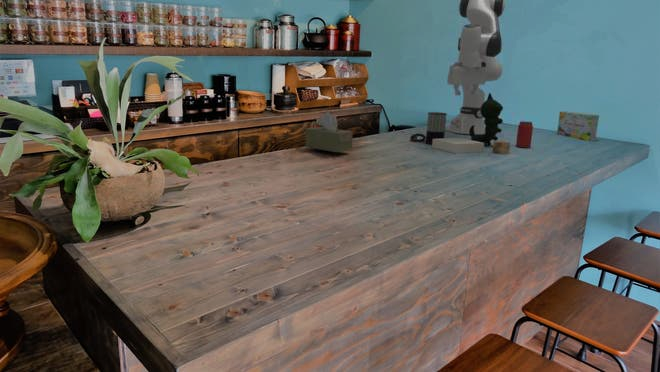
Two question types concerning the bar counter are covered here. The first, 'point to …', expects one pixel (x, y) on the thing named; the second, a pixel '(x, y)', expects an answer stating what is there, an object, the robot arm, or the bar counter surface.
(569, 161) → the bar counter surface
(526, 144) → the beer can
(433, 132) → the milk frother
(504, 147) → the block
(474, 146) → the cream base
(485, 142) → the toy figurine
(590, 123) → the snack box
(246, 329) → the bar counter surface
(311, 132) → the tissue box
